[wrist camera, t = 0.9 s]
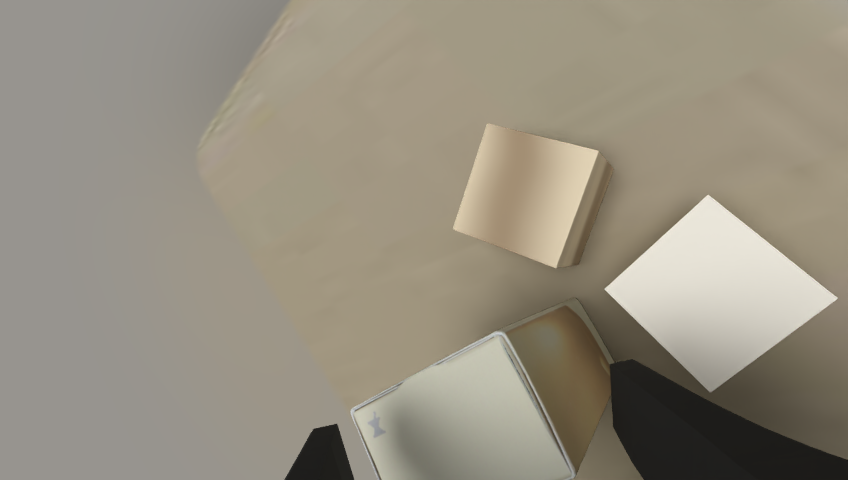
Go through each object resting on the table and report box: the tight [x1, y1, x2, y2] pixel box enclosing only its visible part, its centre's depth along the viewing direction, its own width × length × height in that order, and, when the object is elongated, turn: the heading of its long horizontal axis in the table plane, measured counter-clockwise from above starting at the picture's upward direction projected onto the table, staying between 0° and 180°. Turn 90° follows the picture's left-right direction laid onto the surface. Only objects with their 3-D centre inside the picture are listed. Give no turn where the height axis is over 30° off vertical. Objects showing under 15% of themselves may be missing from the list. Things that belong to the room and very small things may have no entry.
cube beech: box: [453, 123, 614, 268], centre depth 22 cm, size 5×5×5 cm
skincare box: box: [351, 298, 615, 480], centre depth 19 cm, size 6×4×12 cm
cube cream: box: [605, 195, 838, 393], centre depth 19 cm, size 5×5×5 cm
